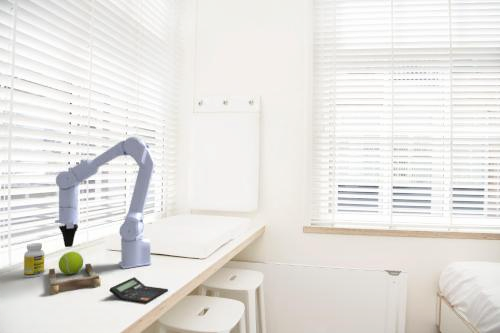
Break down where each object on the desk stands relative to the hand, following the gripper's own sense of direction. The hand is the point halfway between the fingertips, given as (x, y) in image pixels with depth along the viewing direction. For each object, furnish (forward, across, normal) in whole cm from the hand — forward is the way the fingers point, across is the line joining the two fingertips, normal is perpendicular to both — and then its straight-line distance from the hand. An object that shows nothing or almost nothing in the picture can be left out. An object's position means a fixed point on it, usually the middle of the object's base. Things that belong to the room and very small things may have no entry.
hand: (68, 246), depth 118 cm
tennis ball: (+7, +9, 0) cm, 12 cm away
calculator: (+7, +39, +14) cm, 42 cm away
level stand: (+7, +15, 0) cm, 17 cm away
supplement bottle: (+7, +4, -10) cm, 13 cm away
